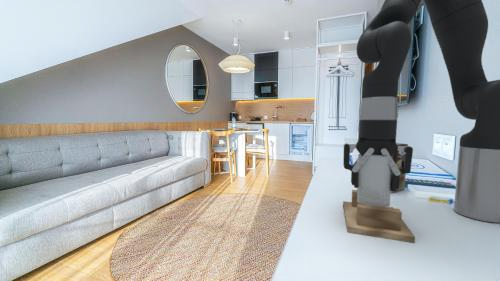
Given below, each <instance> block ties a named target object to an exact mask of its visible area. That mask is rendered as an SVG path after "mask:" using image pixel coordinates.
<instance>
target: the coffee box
mask: <svg viewBox="0 0 500 281" xmlns="http://www.w3.org/2000/svg"><path fill="white" fill-rule="evenodd" d="M396 144H397V146H409V144H408V143H398V142H396ZM392 159H393V161H394V162H395V164H396V166H397V168H400V167H401V161H402V155H400V153H399V151H398V150H397V151H396V153H395V154H394V155H393V156H392ZM391 174H392V172H391ZM406 175H407V174H406V173H405V174H402V175H400V180H399V188H398V189H396V191H395V192H393V191H391V194H393V193H397V192H400V190H401V191H403V190H402V189H404V190H405V189H406V188H405V187H406ZM404 185H405V187H404Z"/></svg>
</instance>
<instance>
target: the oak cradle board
mask: <svg viewBox="0 0 500 281" xmlns="http://www.w3.org/2000/svg"><path fill="white" fill-rule="evenodd" d="M342 208H343V213H344V214H343V215H344V218H345V225H346V226H345V227H346V230H347V231H346V232H347V233H349V234H350V233H352V234H357V235H363V236H370V237H377V238H383V239H390V240H395V241H400V242H401V241H403V242H406V243H407V242H408V243H414V244H415V242H416V236H415V234H414V233H413V232H412V230H411V229H410V228H409V227H408V225H407V224H406V222H405V221H404V220H403V219H402V218H403V217H402V215H403V211H401V210H400V208H394V207H393V206H389V207H380V206H371V205H364V204H361V203H358V202H357V189H352V190H351V201H344V200H343V201H342Z"/></svg>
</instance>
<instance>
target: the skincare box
mask: <svg viewBox="0 0 500 281" xmlns="http://www.w3.org/2000/svg"><path fill="white" fill-rule="evenodd" d="M361 157H362V156H361V154H360V153H359V154H358V157H357V158H358V160H359V159H360V158H361ZM365 157H366V156H365ZM391 158H392V157H391ZM388 159H389V158H388V156H383V155H371V156H370V157H369V158H368V159H367V161H366V162H365V163H364V164H363V165H362V166H361V167H360V169H359V170H358V173H359V176H358V188H356V190H357V202H358V203H361V204H364V205H371V206H380V207H391V194H392V193H391V172H392V170H391V168H390V166H389V164H388ZM363 160H364V159H363ZM390 162H391V161H390Z"/></svg>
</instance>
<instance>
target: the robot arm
mask: <svg viewBox="0 0 500 281" xmlns="http://www.w3.org/2000/svg"><path fill="white" fill-rule="evenodd" d="M421 2H422V0H384V2H383V4H382V6H381V7H380V10H379V11H378V13H377V14H376V15H375V16H374V17H373V19H372V20H371V21H370V23H369V24H368V25H367V26H366V28H365V29H364V30H363V32H362V34H360V37H359V38H358V41H357V44H356V55H357V58H358V59H359V60H360V62H362V63H364V64H368V65H369V64H375V63H378V64H377V66H376V67H375V68H374V69H373V70H371V71H369V72H368V73H366V74H365V75H364V76H363V78H362V86H361V87H362V88H361V102H360V106H359V119H358V135H357V136H358V139H357V142H356V143H351V144H350V143H344V144H343V161H342V162H343V164H342V165H343V167H344V169H345V170H348V171H350V174H351V175H350V176H351V178H350V183H351V185H352V186H353V188H354V189H355V188H356V189H357V188H358V176H359V173H358V170H359V169H360V167H361V166H362V165H363V164H364V163H365V162H366V161H367V159H368V158H369V157H370V156H371V155H383V156H388V158H389V159H388V164H389V166H390V168H391V170H392V174H391V191H393V193H396V192H395V191H396V189H398V188H399V180H400V175H402V174H405V173H406V175H407V174H408V175H409V174H410V173H411V169H412V161H413V154H414V153H413V151H414V148H413V147H412V146H409V145H408V146H397V144H396V143H397V129H398V128H397V127H398V118H399V104H398V92H399V80H400V77H401V74H402V71H403V68H404V65H405V63H406V60H407V57H408V54H409V51H410V48H411V44H412V32H411V30H410V27H409V26H408V25H409V24H410V23H411V22H412V20H413V18H414V17H415V15H416V12H417V10H418V9H419V5H420V4H421ZM423 3H424V5H425V8H426V11H427V14H428V16H429V19H430V24H431V26H432V30H433V32H434V35H435V38H436V41H437V43H438V45H439V46H438V47H439V49H440V51H441V54H442V58H443V60H444V64H445V66H446V69H447V72H448V73H447V74H448V77H449V81H450V87H451V91H452V98H453V101H454V102H453V103H454V106H455V108H456V111H457V112H458V113H459V114H460V115H461V116H462V117H463V118H465V119H468V120H471V121H472V120H475V122H474V126H473V128H472V129H471V130H470V131H469V132H467V133H464V134H462V135H461V136H460V138H459V150H458V159H457V161H458V162H457V171H456V181H455V182H456V183H455V192H454V193H455V194H454V202H453V210H454V212H456V213H457V214H459V215H461V216H464V217H467V218H471V219H474V220H477V221H482V222H489V223H494V224H495V223H496V224H497V223H500V79H495V80H490V81H488V79H487V77H486V74H485V70H484V67H483V64H482V63H483V62H482V59H483V57H482V56H483V53H484V52H483V51H484V48H485V43H486V39H487V35H488V31H489V18H488V15H487V12H486V8H485V6H484V2H483V0H423ZM355 149H356V150H357V152H358V153H359V154H361V156H362V157H361V158H360V159H359V160H358V157H357V158H356V160H355V162H354V163H353V164H351V163H350V161H351V158H350V156H351V154H352V153H353V152H354V150H355ZM397 150H398V151H399V153H400V155H402V161H401V167H400V168H397V166H396V164H395V162H394V161H393V159H392V158H391V157H392V156H393V155H394V154H395V153H396V151H397ZM365 156H366V157H365ZM363 159H364V160H363ZM390 161H391V162H390Z"/></svg>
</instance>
